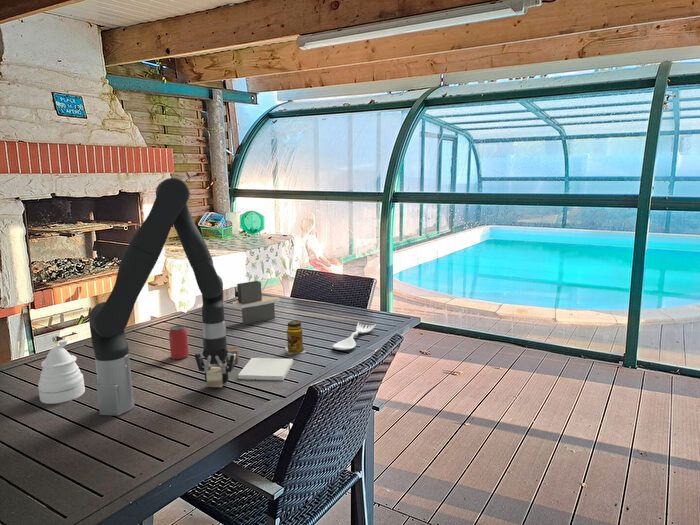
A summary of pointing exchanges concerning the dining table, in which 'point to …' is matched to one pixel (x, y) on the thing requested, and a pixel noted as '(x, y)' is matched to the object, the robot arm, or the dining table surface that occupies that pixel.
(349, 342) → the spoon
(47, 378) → the honey pot
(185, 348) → the beer can
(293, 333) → the condiment
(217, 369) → the birch cube
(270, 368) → the stone board
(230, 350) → the walnut cube
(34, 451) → the dining table surface
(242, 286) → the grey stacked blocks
